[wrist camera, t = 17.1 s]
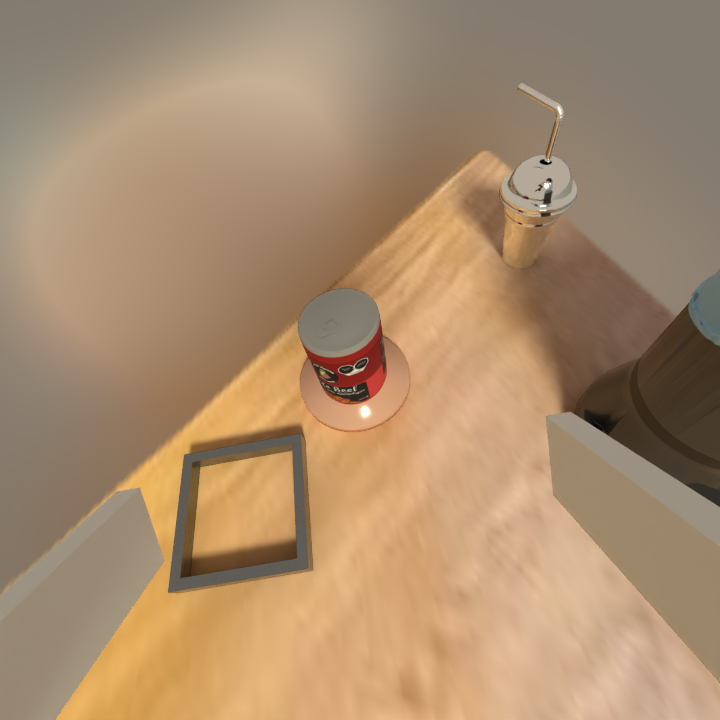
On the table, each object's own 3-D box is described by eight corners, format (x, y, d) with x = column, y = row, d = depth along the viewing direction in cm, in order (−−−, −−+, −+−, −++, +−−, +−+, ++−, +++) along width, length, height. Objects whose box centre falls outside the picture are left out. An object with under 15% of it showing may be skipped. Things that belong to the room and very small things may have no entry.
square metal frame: (192, 459, 44) (184, 454, 42) (305, 439, 43) (300, 433, 42) (178, 593, 37) (168, 592, 35) (313, 570, 36) (308, 568, 35)
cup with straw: (501, 285, 51) (541, 130, 35) (476, 241, 56) (500, 86, 40) (564, 270, 51) (633, 107, 35) (533, 227, 56) (581, 66, 40)
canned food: (309, 389, 46) (280, 334, 36) (345, 339, 49) (328, 277, 39) (364, 418, 43) (348, 367, 33) (399, 363, 46) (394, 302, 37)
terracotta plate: (358, 319, 51) (357, 314, 51) (433, 378, 45) (433, 373, 44) (281, 382, 48) (278, 378, 47) (351, 455, 42) (350, 452, 41)
